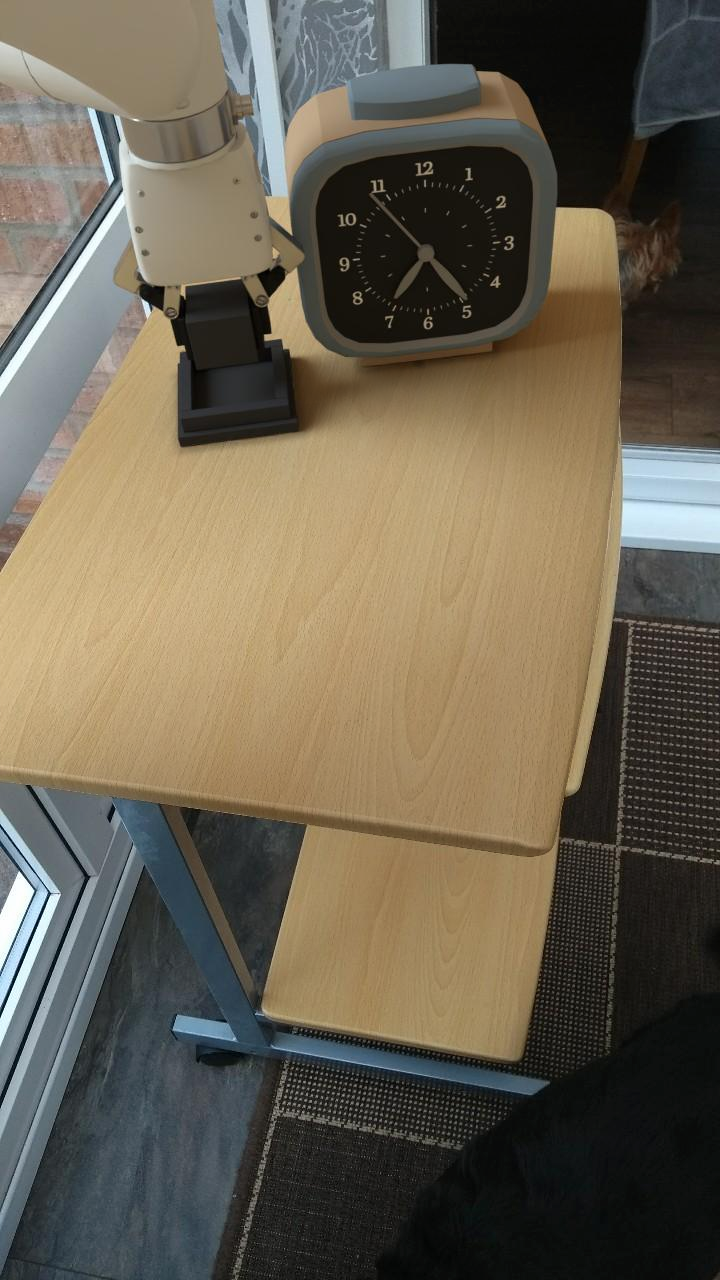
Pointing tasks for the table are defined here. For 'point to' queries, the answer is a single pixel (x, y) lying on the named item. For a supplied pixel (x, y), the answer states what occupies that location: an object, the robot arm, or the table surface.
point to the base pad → (237, 398)
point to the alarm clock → (420, 212)
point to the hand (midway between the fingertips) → (225, 343)
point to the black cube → (220, 324)
